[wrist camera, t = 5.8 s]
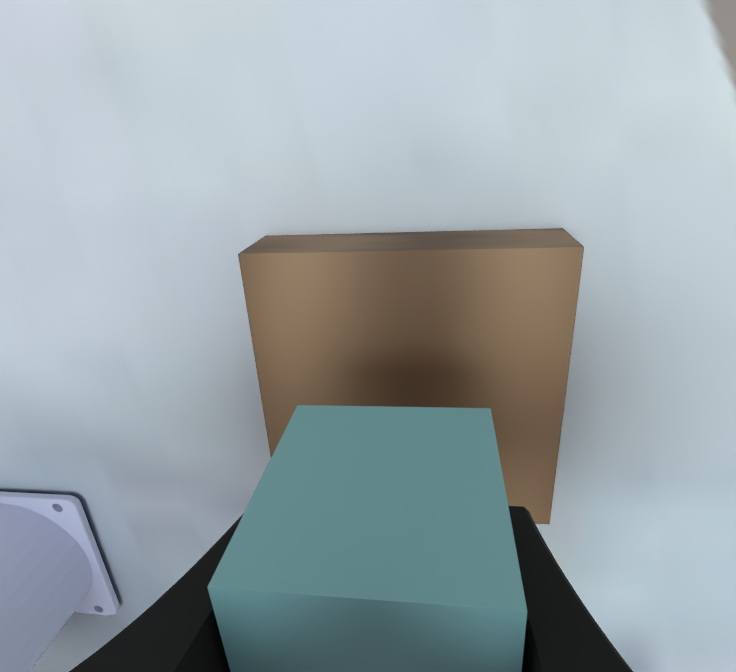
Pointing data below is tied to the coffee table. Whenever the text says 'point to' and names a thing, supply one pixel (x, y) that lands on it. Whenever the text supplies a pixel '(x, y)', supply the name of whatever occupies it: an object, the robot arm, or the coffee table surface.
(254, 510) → the teal block
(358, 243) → the walnut block
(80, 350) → the coffee table surface
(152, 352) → the coffee table surface
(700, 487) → the coffee table surface
